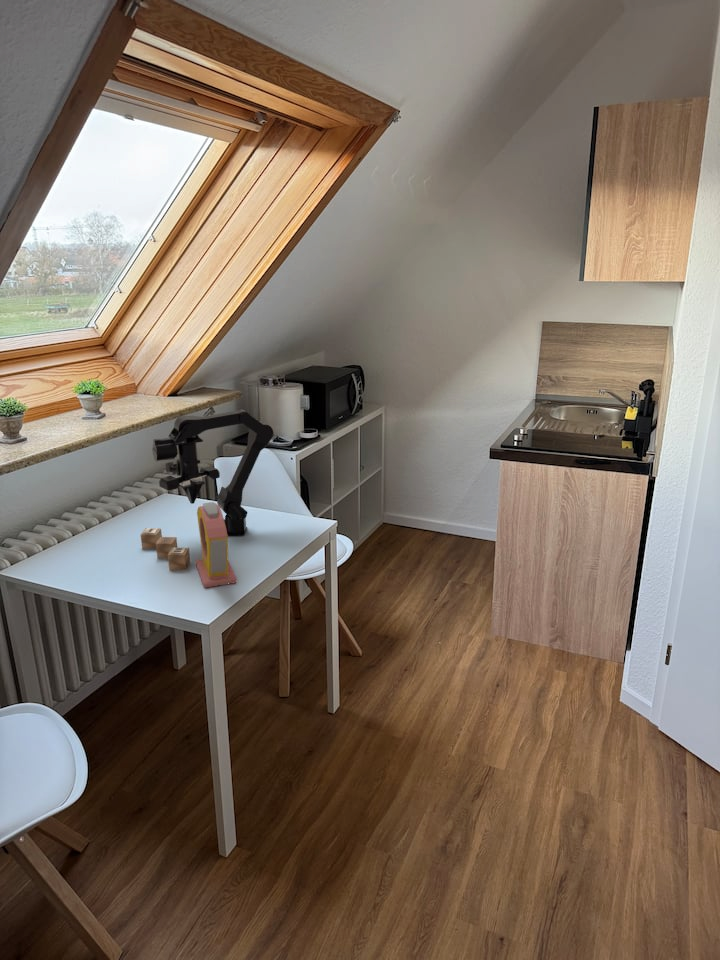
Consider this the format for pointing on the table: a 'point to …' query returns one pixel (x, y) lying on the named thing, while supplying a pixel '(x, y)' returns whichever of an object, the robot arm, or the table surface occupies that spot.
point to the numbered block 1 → (150, 537)
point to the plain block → (165, 546)
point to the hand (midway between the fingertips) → (192, 503)
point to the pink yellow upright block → (213, 547)
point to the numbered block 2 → (178, 558)
